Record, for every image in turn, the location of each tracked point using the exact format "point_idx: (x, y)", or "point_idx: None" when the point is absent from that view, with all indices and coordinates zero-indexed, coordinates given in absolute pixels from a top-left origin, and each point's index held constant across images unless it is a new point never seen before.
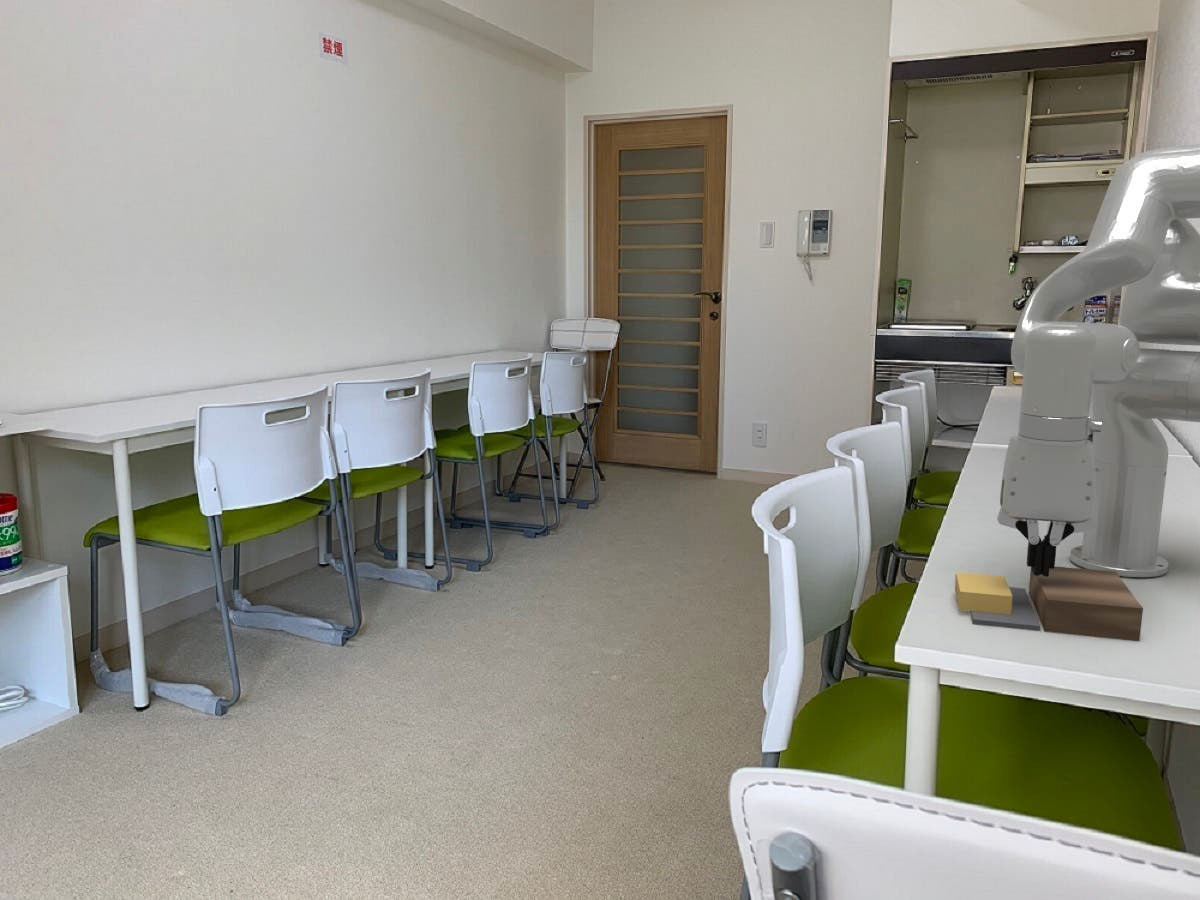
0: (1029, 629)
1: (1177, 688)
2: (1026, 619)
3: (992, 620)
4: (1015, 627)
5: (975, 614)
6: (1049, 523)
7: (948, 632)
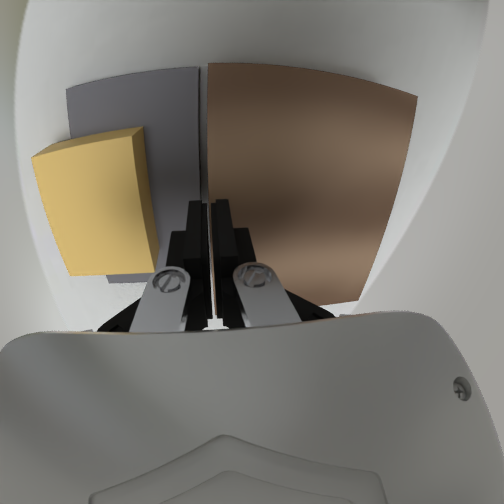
0: None
1: None
2: None
3: (135, 279)
4: None
5: None
6: (248, 323)
7: (94, 309)
